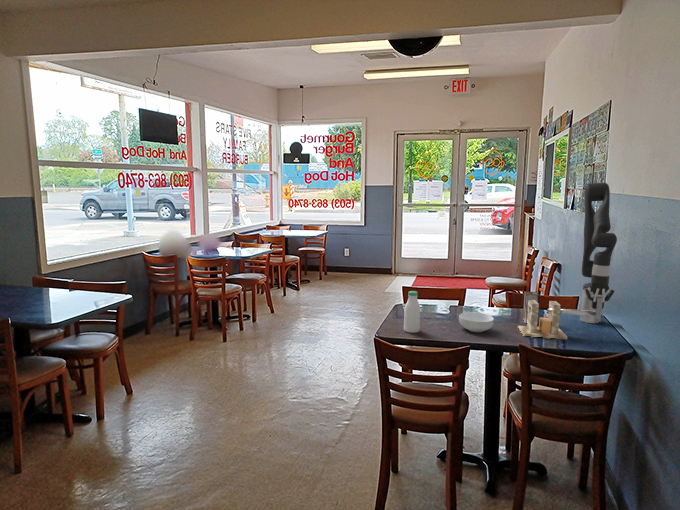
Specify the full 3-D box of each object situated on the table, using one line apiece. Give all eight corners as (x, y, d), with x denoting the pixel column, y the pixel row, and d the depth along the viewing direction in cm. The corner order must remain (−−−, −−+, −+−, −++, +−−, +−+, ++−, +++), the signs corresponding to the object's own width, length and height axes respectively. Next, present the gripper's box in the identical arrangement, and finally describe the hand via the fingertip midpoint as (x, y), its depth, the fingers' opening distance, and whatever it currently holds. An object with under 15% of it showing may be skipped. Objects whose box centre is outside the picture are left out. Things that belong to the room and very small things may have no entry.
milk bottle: (421, 332, 241) (423, 293, 238) (406, 333, 240) (407, 293, 237) (416, 328, 249) (418, 289, 246) (401, 328, 248) (403, 290, 245)
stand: (558, 330, 249) (561, 300, 246) (567, 339, 235) (570, 307, 233) (517, 328, 252) (520, 298, 249) (523, 336, 238) (526, 304, 235)
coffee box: (538, 325, 258) (540, 295, 256) (525, 324, 259) (527, 294, 257) (534, 320, 267) (537, 291, 264) (522, 319, 268) (524, 290, 266)
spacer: (547, 329, 246) (548, 317, 245) (550, 333, 240) (551, 321, 239) (538, 329, 246) (539, 317, 245) (541, 332, 240) (542, 320, 239)
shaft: (597, 316, 240) (599, 296, 239) (600, 318, 236) (602, 298, 234) (547, 313, 244) (549, 293, 242) (550, 315, 239) (551, 295, 238)
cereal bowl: (455, 332, 243) (456, 318, 242) (460, 323, 259) (461, 310, 258) (491, 337, 237) (492, 322, 236) (494, 327, 252) (495, 314, 251)
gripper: (613, 273, 238) (609, 307, 240) (582, 272, 240) (579, 306, 242) (619, 276, 230) (615, 311, 233) (588, 274, 232) (584, 310, 235)
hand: (597, 308), depth 238 cm, fingers closed on shaft, 2 cm apart
